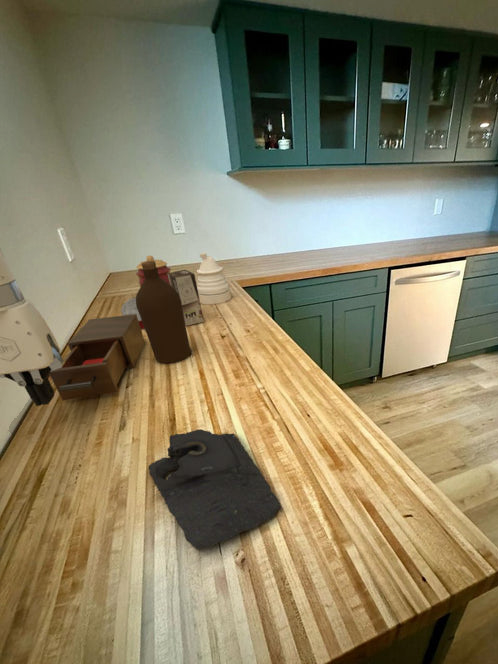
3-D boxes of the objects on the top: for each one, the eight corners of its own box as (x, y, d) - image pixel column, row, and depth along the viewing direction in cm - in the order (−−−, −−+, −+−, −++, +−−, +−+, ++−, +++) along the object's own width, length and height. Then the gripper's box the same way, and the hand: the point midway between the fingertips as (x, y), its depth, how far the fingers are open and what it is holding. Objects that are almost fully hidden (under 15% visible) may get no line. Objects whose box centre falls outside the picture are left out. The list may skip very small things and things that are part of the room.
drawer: (112, 402, 72) (100, 373, 69) (55, 411, 71) (39, 381, 67) (132, 361, 89) (123, 336, 85) (85, 367, 87) (74, 342, 84)
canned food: (157, 331, 121) (165, 307, 117) (143, 340, 112) (150, 314, 108) (128, 317, 120) (134, 292, 116) (110, 325, 111) (116, 298, 107)
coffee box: (205, 321, 114) (195, 273, 106) (186, 326, 111) (174, 277, 103) (196, 314, 121) (185, 268, 113) (178, 318, 118) (166, 272, 110)
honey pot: (215, 305, 128) (206, 257, 119) (192, 301, 134) (181, 254, 125) (237, 296, 138) (230, 250, 128) (215, 292, 144) (206, 248, 135)
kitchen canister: (173, 293, 146) (162, 251, 137) (181, 300, 136) (170, 255, 128) (142, 299, 141) (128, 255, 132) (147, 307, 131) (134, 260, 122)
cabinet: (133, 368, 88) (122, 336, 83) (81, 375, 86) (67, 343, 81) (145, 342, 102) (136, 313, 97) (100, 348, 100) (89, 319, 95)
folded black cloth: (180, 575, 40) (170, 552, 38) (147, 464, 57) (139, 443, 54) (290, 514, 47) (288, 490, 44) (232, 430, 63) (228, 410, 61)
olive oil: (171, 368, 86) (143, 269, 74) (144, 359, 91) (114, 265, 79) (201, 351, 94) (180, 259, 81) (175, 344, 99) (152, 256, 86)
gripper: (-89, 312, 45) (-15, 421, 54) (34, 298, 47) (85, 405, 56) (-51, 296, 51) (9, 396, 60) (56, 285, 53) (98, 383, 63)
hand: (46, 400), depth 58 cm, fingers closed
